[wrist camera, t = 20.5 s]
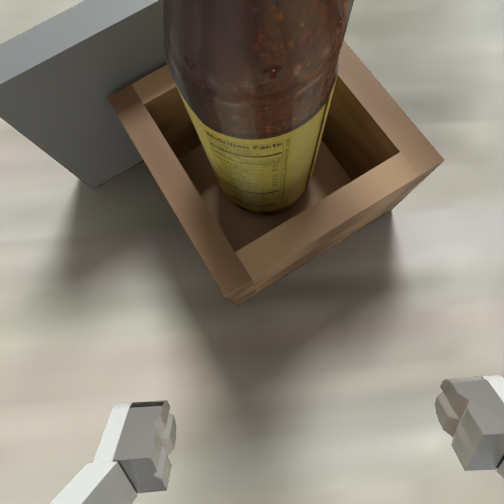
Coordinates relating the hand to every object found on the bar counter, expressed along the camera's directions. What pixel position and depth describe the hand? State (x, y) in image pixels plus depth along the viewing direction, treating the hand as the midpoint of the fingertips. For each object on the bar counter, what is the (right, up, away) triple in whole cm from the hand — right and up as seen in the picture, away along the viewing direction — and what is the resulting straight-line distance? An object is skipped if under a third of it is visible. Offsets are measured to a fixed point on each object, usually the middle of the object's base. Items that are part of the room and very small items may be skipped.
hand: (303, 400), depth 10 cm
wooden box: (0, +9, +14) cm, 17 cm away
